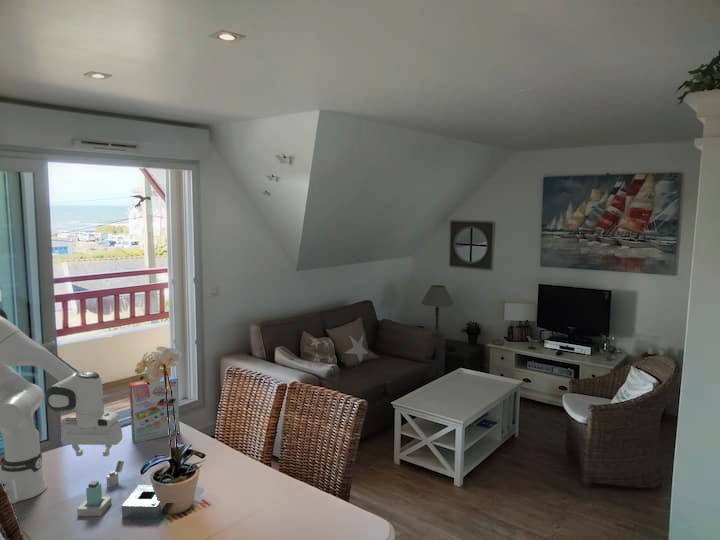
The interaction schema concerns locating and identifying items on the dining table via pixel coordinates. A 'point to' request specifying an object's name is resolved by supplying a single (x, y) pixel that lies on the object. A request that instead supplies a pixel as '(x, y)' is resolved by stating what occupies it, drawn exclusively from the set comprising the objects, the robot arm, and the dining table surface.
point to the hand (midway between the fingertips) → (92, 455)
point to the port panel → (142, 504)
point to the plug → (94, 494)
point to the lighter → (114, 475)
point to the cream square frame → (94, 508)
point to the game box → (153, 409)
